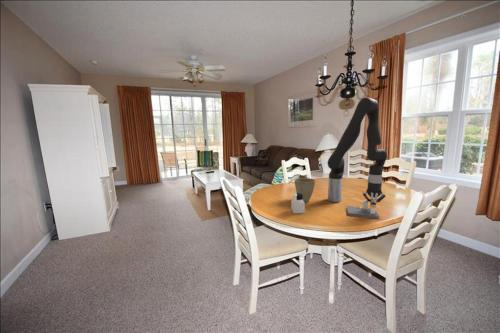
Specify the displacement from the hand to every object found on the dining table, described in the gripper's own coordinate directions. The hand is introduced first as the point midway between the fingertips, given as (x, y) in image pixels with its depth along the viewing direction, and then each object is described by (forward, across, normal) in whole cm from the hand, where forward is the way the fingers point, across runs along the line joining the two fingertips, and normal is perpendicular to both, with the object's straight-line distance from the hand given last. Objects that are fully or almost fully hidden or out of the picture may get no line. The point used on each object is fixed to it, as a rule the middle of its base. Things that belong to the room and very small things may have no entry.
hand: (372, 208), depth 135 cm
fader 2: (+1, -1, -7) cm, 7 cm away
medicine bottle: (+3, -45, -13) cm, 47 cm away
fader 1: (+1, -4, 0) cm, 4 cm away
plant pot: (+3, -44, +10) cm, 45 cm away
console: (+3, -6, -4) cm, 8 cm away
